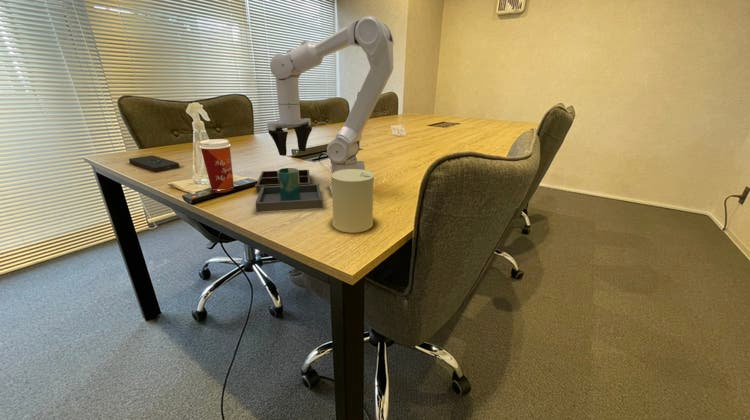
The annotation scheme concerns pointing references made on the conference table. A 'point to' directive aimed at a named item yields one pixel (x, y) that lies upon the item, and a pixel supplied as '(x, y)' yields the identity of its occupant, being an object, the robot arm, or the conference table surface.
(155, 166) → the smart home device
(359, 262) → the conference table surface
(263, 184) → the cup rack
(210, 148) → the paper cup
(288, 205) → the tray
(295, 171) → the teal cup
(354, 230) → the can
